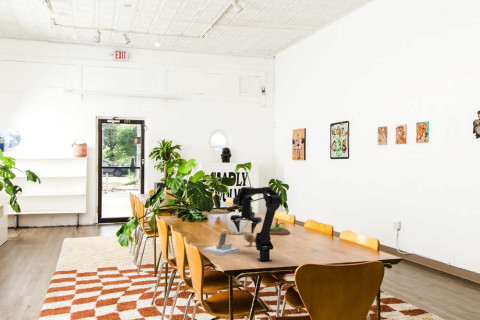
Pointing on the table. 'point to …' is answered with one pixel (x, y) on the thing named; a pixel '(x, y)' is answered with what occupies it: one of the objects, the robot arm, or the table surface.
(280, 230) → the plant
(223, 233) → the lever
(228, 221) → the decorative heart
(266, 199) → the robot arm
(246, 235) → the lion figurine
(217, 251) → the switch plate
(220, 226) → the table surface
